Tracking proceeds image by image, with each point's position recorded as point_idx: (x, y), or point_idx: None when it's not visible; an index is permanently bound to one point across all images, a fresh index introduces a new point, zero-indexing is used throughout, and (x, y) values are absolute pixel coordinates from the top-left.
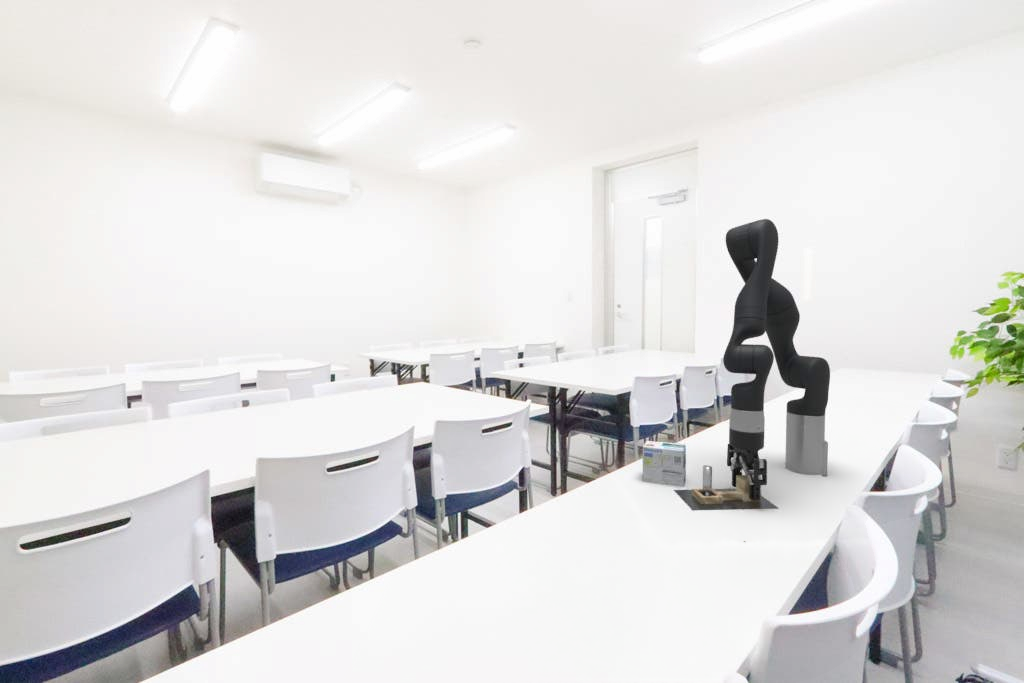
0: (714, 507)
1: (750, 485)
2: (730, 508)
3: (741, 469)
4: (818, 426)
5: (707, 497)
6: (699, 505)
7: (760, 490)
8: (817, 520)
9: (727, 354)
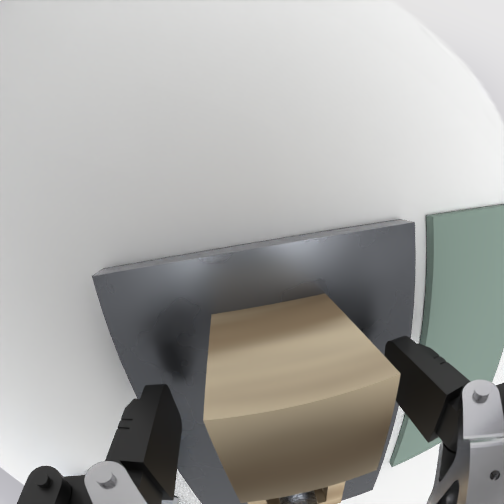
0: None
1: (438, 434)
2: None
3: (139, 489)
4: None
5: (341, 494)
6: (345, 487)
7: (357, 331)
8: (444, 89)
9: None
